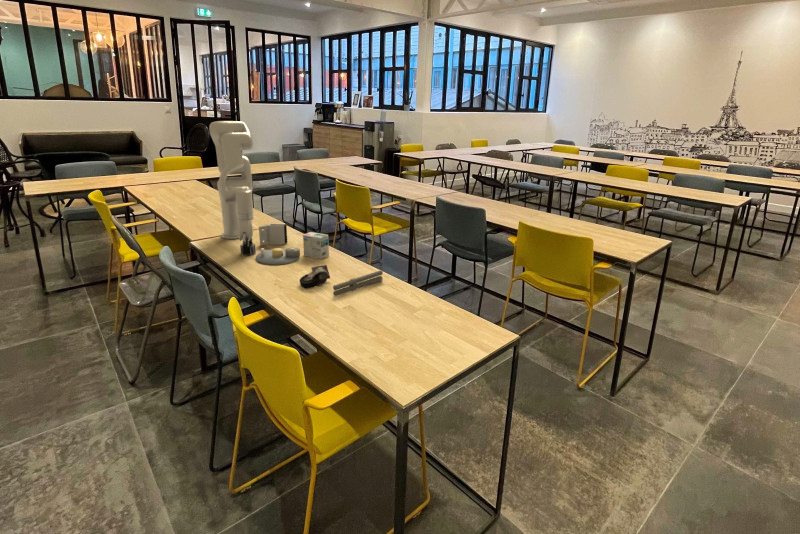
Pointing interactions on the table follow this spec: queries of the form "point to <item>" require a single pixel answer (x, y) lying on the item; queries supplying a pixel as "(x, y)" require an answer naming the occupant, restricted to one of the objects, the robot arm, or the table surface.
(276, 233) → the hinge
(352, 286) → the metal rod assembly
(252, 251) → the gear
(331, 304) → the table surface
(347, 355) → the table surface
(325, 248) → the light bulb box
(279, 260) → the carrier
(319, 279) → the caster wheel
